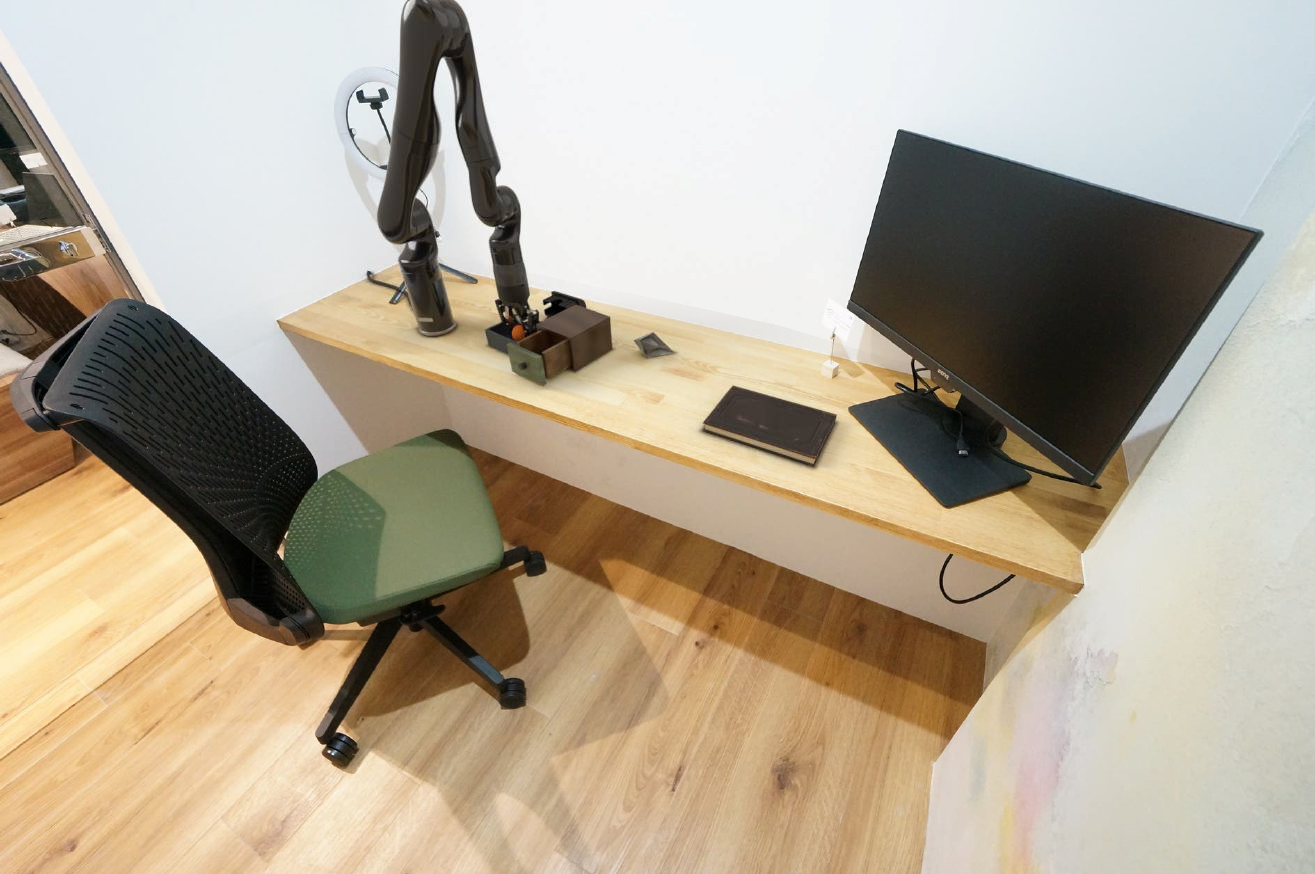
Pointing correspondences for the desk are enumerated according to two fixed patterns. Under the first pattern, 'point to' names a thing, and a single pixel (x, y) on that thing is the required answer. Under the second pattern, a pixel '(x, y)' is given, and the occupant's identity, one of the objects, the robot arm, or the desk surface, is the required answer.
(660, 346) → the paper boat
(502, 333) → the box
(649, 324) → the desk surface
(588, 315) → the cabinet
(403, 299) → the desk surface
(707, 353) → the desk surface
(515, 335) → the ball
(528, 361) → the drawer
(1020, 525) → the desk surface
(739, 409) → the hardcover book
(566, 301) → the end cap
